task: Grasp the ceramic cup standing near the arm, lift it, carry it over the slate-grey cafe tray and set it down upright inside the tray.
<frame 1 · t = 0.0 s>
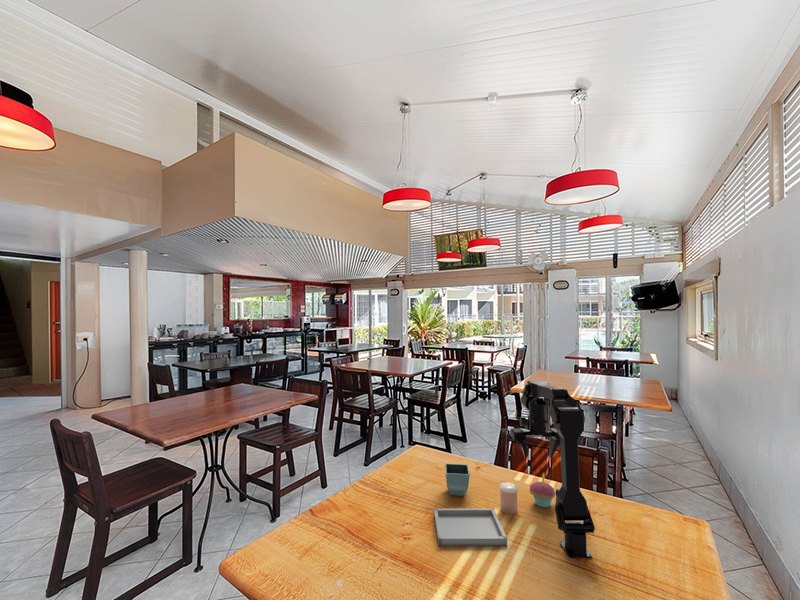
hand: (538, 458, 133), 15 cm above the table, fingers open, 9 cm apart
cupcake: (542, 504, 129), on the table
tray: (468, 529, 115), on the table
cup: (508, 510, 126), on the table
flower pot: (457, 493, 138), on the table
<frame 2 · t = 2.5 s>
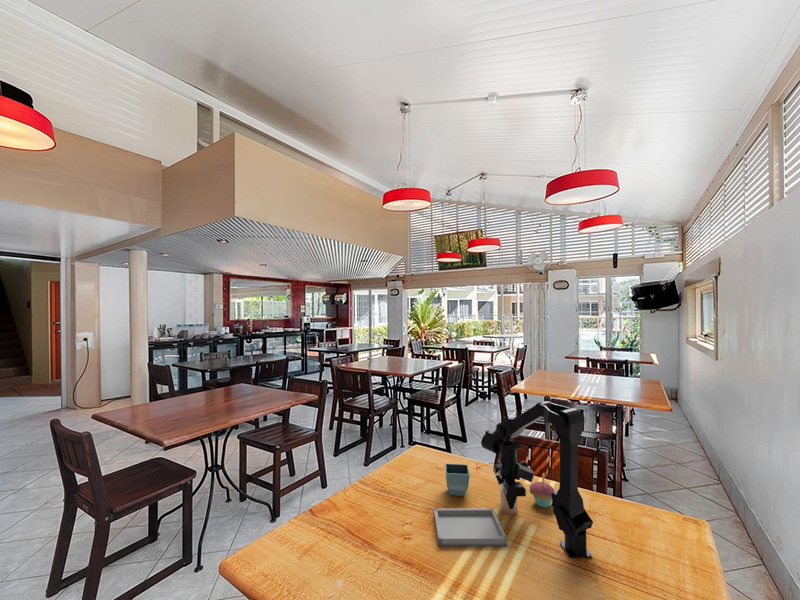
hand: (508, 504, 126), 2 cm above the table, fingers closed on cup, 6 cm apart
cup: (508, 510, 126), on the table, touching gripper
everything else where it was.
when the fingers open (4 cm above the table, at t = 6.9 s): cup drops 2 cm, resting on tray.
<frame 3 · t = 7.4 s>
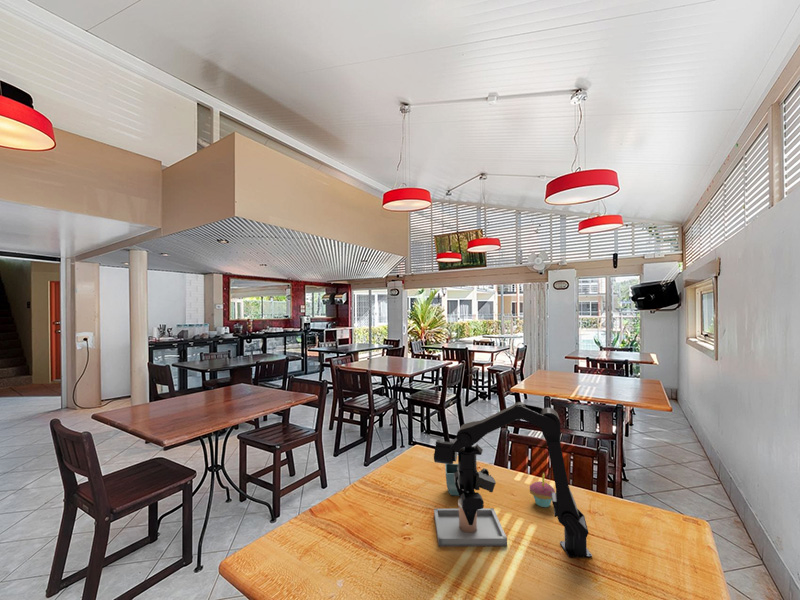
hand: (468, 516, 115), 4 cm above the table, fingers open, 9 cm apart
cup: (468, 527, 115), point 1 cm above the table, touching tray
everything else where it was.
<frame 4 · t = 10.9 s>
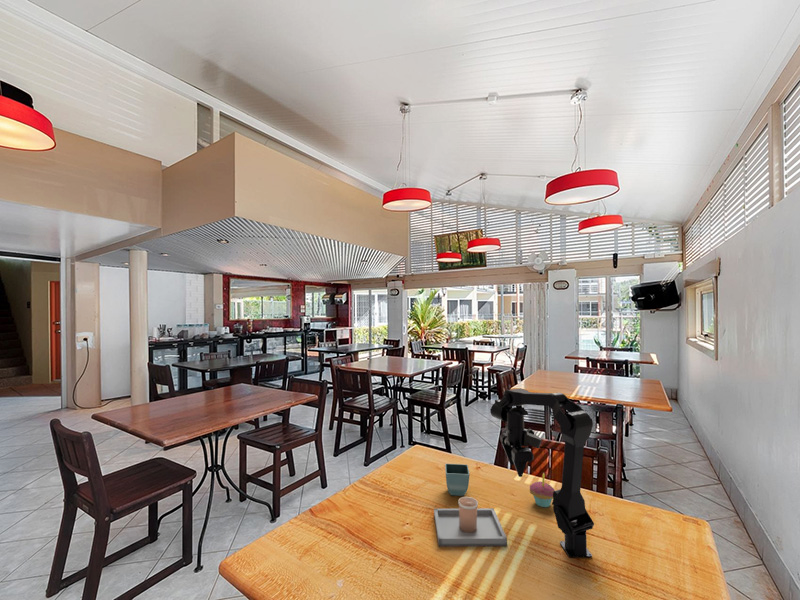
hand: (516, 470, 127), 13 cm above the table, fingers open, 9 cm apart
nothing on the table moved.
at the end: cup inside the target area on the tray (0.0 cm from its centre), point 0.6 cm above the tray's base; cup tilted 1°; the gripper is holding nothing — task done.
